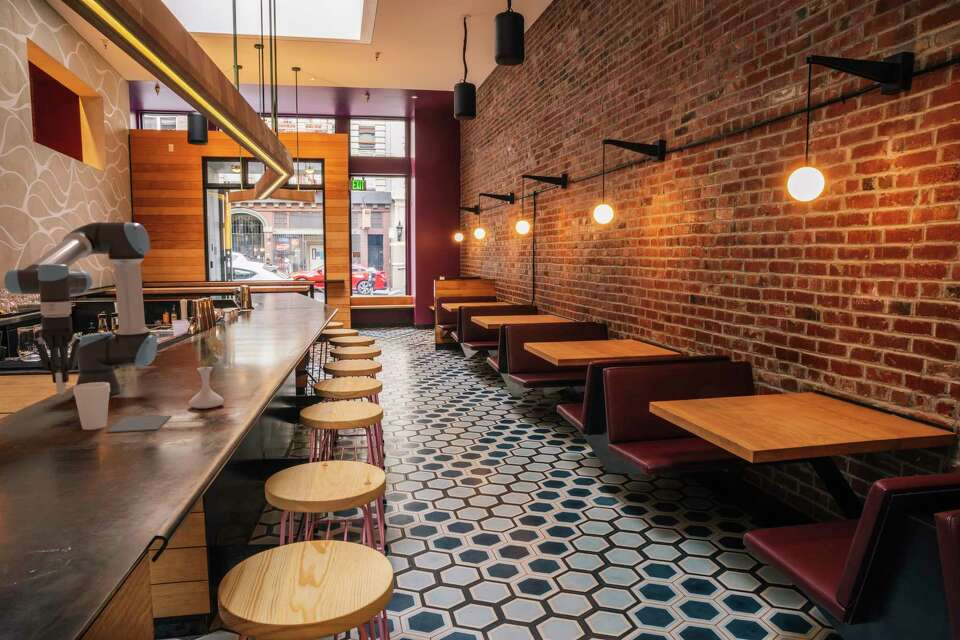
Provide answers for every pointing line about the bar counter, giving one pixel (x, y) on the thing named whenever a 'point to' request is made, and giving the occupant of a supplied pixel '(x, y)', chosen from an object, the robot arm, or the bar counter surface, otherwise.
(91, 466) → the bar counter surface
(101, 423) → the foam cup
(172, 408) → the bar counter surface
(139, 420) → the mat
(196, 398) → the flower in vase
